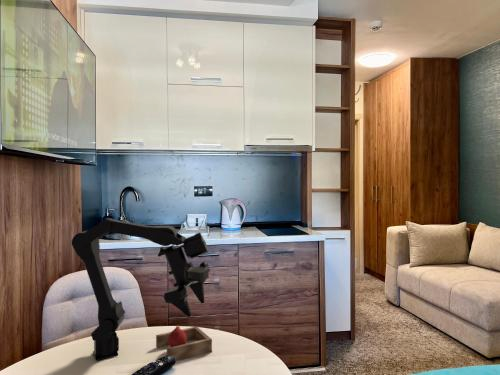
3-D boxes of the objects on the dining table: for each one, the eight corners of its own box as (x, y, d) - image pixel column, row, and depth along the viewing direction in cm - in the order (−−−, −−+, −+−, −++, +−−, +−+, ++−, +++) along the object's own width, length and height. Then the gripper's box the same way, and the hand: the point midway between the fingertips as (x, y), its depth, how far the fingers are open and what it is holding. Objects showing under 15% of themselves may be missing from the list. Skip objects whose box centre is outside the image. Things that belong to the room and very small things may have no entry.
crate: (168, 363, 106) (168, 349, 106) (156, 347, 116) (156, 335, 116) (211, 351, 113) (211, 339, 113) (196, 337, 124) (196, 326, 124)
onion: (182, 356, 110) (182, 330, 110) (164, 354, 111) (164, 328, 111) (189, 347, 116) (189, 323, 116) (172, 346, 117) (172, 322, 117)
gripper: (184, 268, 101) (204, 318, 101) (212, 247, 119) (229, 291, 119) (154, 277, 105) (173, 326, 105) (185, 256, 123) (201, 298, 123)
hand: (196, 309), depth 113 cm, fingers open, 9 cm apart
